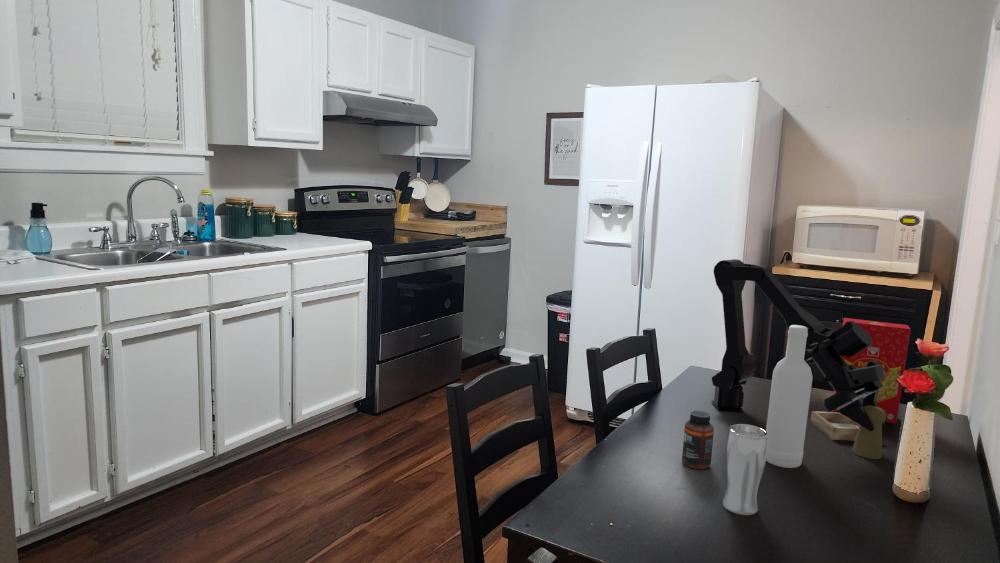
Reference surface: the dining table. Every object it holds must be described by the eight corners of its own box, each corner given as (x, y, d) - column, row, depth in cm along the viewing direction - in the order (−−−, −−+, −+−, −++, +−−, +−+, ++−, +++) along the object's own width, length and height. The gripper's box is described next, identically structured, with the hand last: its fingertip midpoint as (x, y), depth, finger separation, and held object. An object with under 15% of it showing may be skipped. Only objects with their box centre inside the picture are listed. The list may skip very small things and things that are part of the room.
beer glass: (755, 520, 120) (765, 441, 118) (716, 509, 124) (724, 431, 121) (763, 505, 126) (772, 429, 123) (725, 494, 129) (733, 420, 127)
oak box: (831, 439, 160) (833, 427, 160) (810, 422, 171) (811, 411, 170) (877, 441, 160) (879, 429, 160) (853, 424, 171) (855, 413, 171)
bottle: (756, 459, 146) (772, 325, 141) (770, 449, 152) (786, 320, 147) (794, 472, 141) (811, 333, 136) (807, 461, 147) (824, 327, 142)
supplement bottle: (712, 462, 144) (717, 411, 142) (708, 473, 139) (713, 420, 137) (683, 456, 146) (688, 406, 145) (678, 466, 141) (683, 415, 139)
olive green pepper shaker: (887, 459, 150) (894, 412, 148) (860, 458, 150) (867, 411, 148) (873, 448, 156) (880, 403, 154) (847, 447, 156) (853, 401, 154)
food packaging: (833, 413, 179) (845, 321, 175) (831, 407, 184) (843, 317, 180) (896, 423, 173) (910, 329, 169) (893, 417, 178) (907, 325, 174)
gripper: (845, 355, 146) (892, 420, 139) (879, 344, 158) (924, 403, 151) (804, 380, 153) (848, 443, 147) (840, 368, 165) (882, 425, 159)
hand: (877, 427), depth 151 cm, fingers closed on olive green pepper shaker, 5 cm apart
